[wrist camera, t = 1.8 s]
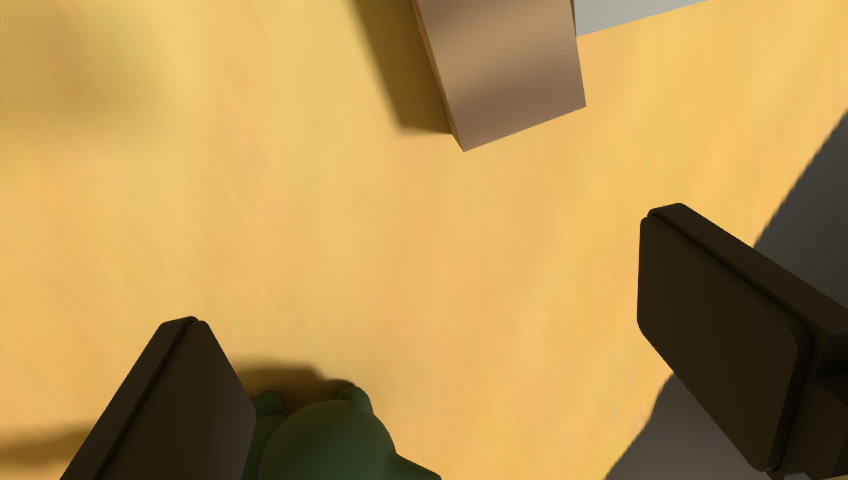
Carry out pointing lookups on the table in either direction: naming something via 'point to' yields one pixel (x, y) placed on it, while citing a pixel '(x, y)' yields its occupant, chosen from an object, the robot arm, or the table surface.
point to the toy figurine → (325, 442)
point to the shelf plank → (501, 64)
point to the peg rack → (617, 12)
